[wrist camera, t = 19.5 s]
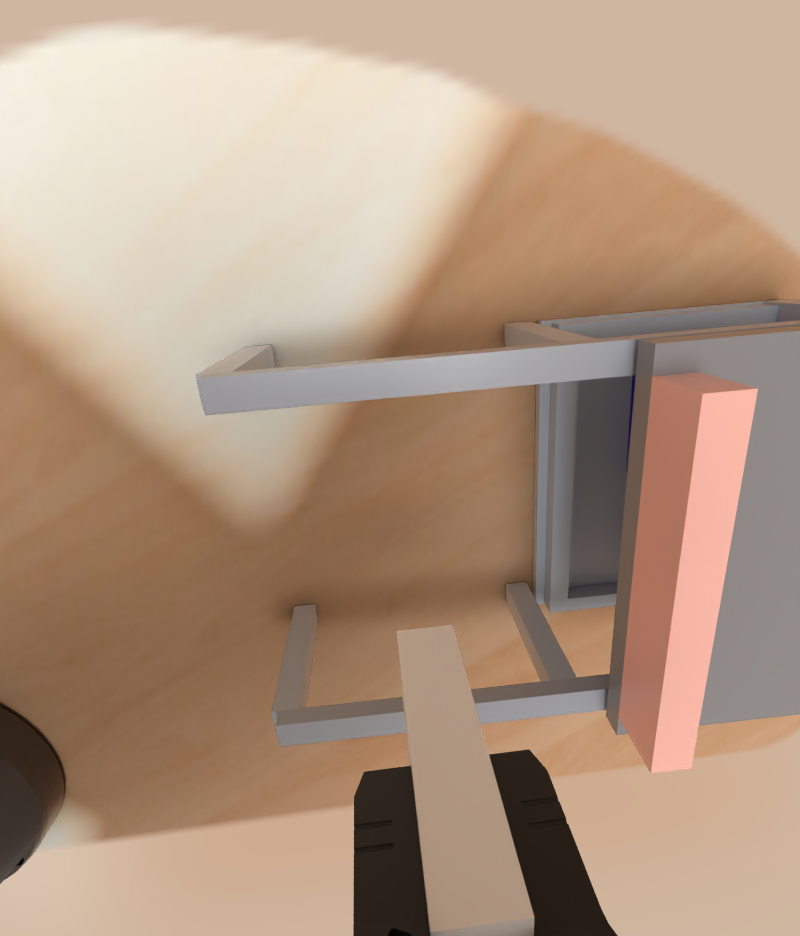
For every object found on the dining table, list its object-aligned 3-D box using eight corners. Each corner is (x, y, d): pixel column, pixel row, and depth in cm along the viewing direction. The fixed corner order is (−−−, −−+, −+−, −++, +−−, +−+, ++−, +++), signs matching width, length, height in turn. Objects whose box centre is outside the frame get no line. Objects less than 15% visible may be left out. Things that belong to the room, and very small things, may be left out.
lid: (606, 715, 22) (648, 792, 19) (638, 339, 16) (708, 355, 13) (828, 690, 22) (908, 761, 19) (937, 313, 16) (1079, 321, 13)
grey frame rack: (297, 623, 30) (272, 747, 22) (246, 346, 24) (187, 379, 16) (728, 577, 30) (854, 681, 22) (777, 299, 25) (971, 308, 17)
